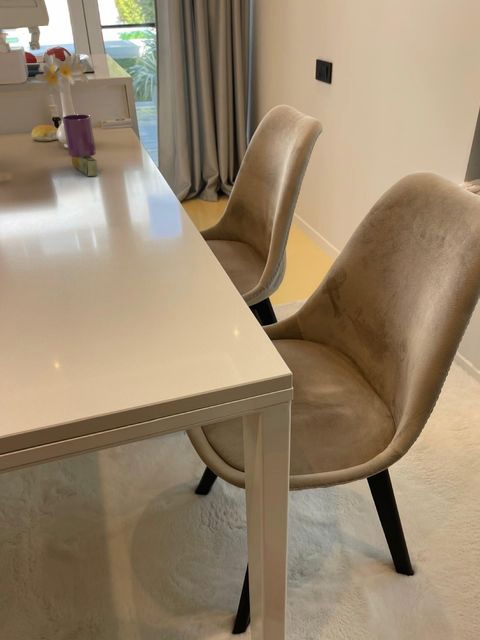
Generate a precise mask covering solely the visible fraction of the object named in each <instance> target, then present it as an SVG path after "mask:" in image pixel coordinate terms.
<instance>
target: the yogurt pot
mask: <svg viewBox="0 0 480 640" xmlns="http://www.w3.org/2000/svg"><path fill="white" fill-rule="evenodd" d="M62 119H63V125H64V130H65V135H66V141H67V146H68V148H67V150H68V155H69V157H71V158H72V157H89V156H90V157H93V156H95V155H96V154H97V150H96V144H95V138H94V132H93V127H92V125H93V124H92V119H91V115H88V114H81V113H80V114H76V115H68V116H64V117H63V116H62V117H61V120H62Z"/></svg>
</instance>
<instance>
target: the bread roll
mask: <svg viewBox="0 0 480 640" xmlns="http://www.w3.org/2000/svg"><path fill="white" fill-rule="evenodd" d="M57 129H58V128H57V127H56V126H54V125H48V124H40V125H37V126H35V127H34V128H33V129H32V130H31V138H32V140H34V141H38V142H44V143H45V142H53V141H57V140H58V138H57V136H56V134H57ZM58 141H59V140H58Z"/></svg>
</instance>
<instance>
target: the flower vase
mask: <svg viewBox="0 0 480 640" xmlns="http://www.w3.org/2000/svg"><path fill="white" fill-rule="evenodd" d="M63 55H64V56H65V59H64V61H62V60H61V59H60V58H57V57H56V54H55V53H53V54H48V53H46V52H45V53H44V55H43V60H44V62H40V63H39V67H38V69H37V70H38V72H39V73H38V74H36V75H35V77H34V78H35V79H36V80H37V82H38V81H39V82H41V83H45V84H44V92H45V94H46V95H47V94H51V93H52V91H53V89H55V90H56V91H57V92H58V93H59V96H60V101H61V108H62V117H64V116H68V115H77V114H76V111H75V107H74V103H73V98H72V93H71V85H72V86H73V85H75V83H76V80H75V77H74V76H78V78H79V79H80V80H81V82H82V83H84V81H85V82H86V83H87V84H89V83H90V81H89V78H88V76H87V75H86V72H87V70H88V67H87V64H85V63H82V64H81V62H82V61H81V56H80V54H79V53H77V54H76V53H72V54H71V55H70V54H69V53H68V52H67V51H66V50H63ZM56 136H57V138H58V141H59V142H60V143H61V144H62V145H63V147H64V148H65V149H68V146H67V141H66V135H65V130H64V125H63V119H62V118H61V123H60V125H59V126H58V128H57V134H56Z"/></svg>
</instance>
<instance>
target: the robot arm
mask: <svg viewBox="0 0 480 640" xmlns="http://www.w3.org/2000/svg"><path fill="white" fill-rule="evenodd" d="M49 24H50V16H49V12H48V9H47V4H46V1H45V0H0V53H1V54H6V53H11V52H12V50H11V48H10V47H11V45H10V43H9V42H8V43H7V42H6V40H5V39H4V37H3V30H17V29H19V30H20V29H27V30H28V33H29V34H30V41H28V44H29V48H30V50H31V51H36V50H37V51H38V50H41V44H40V36H41V31H40V28H45V27H48V26H49Z"/></svg>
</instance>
